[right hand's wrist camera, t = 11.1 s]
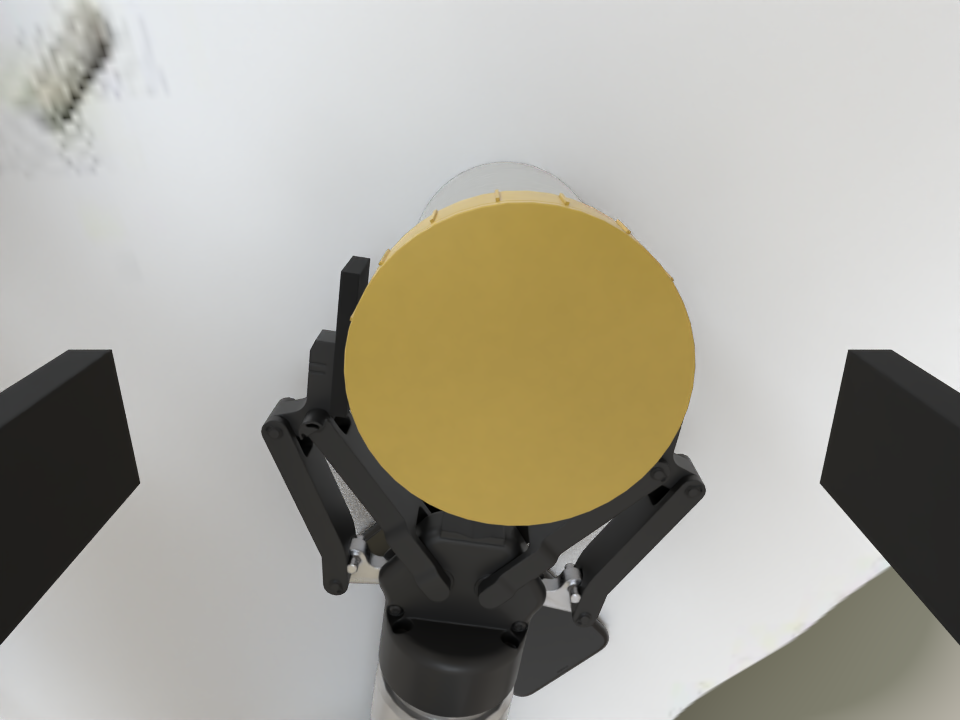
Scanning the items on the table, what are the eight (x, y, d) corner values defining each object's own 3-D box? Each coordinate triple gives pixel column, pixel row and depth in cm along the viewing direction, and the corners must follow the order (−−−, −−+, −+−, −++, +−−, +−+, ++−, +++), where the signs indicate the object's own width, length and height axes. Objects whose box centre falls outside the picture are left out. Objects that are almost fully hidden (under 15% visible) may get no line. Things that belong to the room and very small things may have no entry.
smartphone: (347, 541, 41) (519, 693, 45) (344, 551, 40) (520, 704, 44) (444, 466, 39) (614, 632, 43) (443, 474, 38) (617, 642, 42)
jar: (377, 265, 35) (303, 390, 20) (494, 120, 32) (502, 146, 18) (512, 372, 37) (530, 552, 23) (632, 245, 34) (738, 357, 20)
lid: (291, 368, 22) (271, 398, 20) (498, 110, 19) (500, 113, 17) (527, 538, 24) (531, 580, 22) (743, 333, 22) (771, 359, 19)
